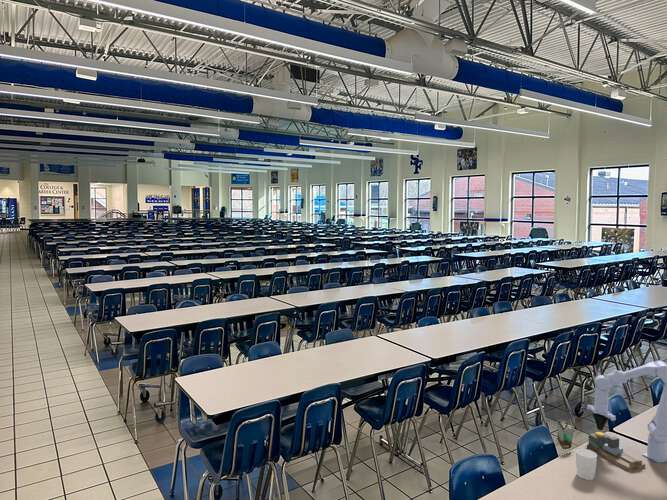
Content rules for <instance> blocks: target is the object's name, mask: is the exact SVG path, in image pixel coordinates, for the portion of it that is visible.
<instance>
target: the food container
mask: <svg viewBox="0 0 667 500" xmlns="http://www.w3.org/2000/svg"><path fill="white" fill-rule="evenodd" d="M556 421H557V433H556V434H557V443H558V444H559V445H560V447H561V449H562V450H568V449H572V443H573V435H574V433H575V432H576V429H575V427H574V425H573V424H572V423H571V422H570V421H567V420H563V419H557V420H556Z"/></svg>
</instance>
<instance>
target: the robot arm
mask: <svg viewBox="0 0 667 500" xmlns="http://www.w3.org/2000/svg"><path fill="white" fill-rule="evenodd" d="M646 375H647V376H651V377H654V378H656V377H658V378H659V379H661V381H662V382H663V383H664V386H663V389H662V393H661V395H660V398H659V399H660V400H659V402H658V406H657V408H656V411H655V415H654V416H653V417H652V418H651V421H650V422H648V424H647V430H648V431H649V434H648V435H647V449H646V450H647V452H644V453H642V456H644V457H646V458H648V459H650V460H652V461H654V462H656V463H657V464H658V463H659V464H661V463H665V462H666V463H667V363H666V362H665V361H663V360H656V361H651V362H650V361H649V362H648V363H646V364H643V365H641V366H638V367H635V368H632V369H630V370H629V369H628V370H626V371H623V370H617V369H614V372H610V373H604V374H599V375H597V376H595V378H594V379H593V382H594V384H595V386H594V387H595V388H594V389H595V390H594V403H593V404H594V405H592V404H587V405H586V409H587V410H588V411H591V412H592V417H593V419H594V421H595V424H596V429H597V430H598V431H603V430H604V428H605V424H606V423H607V422H608V420H611V421H616V419H617V418H616V415H614V414H613V413H611V412H610V411H609V397H610V396H609V395H610V394H609V392H610V391H609V390H610V388H611V387H615V386H619V385H622V384H625V383H627V381H628V380H629V379H633V378H638V377H642V376H646Z"/></svg>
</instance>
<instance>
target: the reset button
mask: <svg viewBox="0 0 667 500" xmlns="http://www.w3.org/2000/svg"><path fill="white" fill-rule="evenodd" d="M601 432H602V431H596V432H594V433H595V435H596V436H598V437H605V434H606V433H605V434H604V432H603V433H601Z"/></svg>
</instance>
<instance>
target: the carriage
mask: <svg viewBox="0 0 667 500" xmlns="http://www.w3.org/2000/svg"><path fill="white" fill-rule="evenodd" d="M603 449H604V450H606V451H608V452H609V453H611V454H613V455H615V456H617V454H621V455H622V453H624V448H623V447H621V446H620V438H619V437H617V436H613V435H612V436H611V437H608V444H604V446H603Z"/></svg>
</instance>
